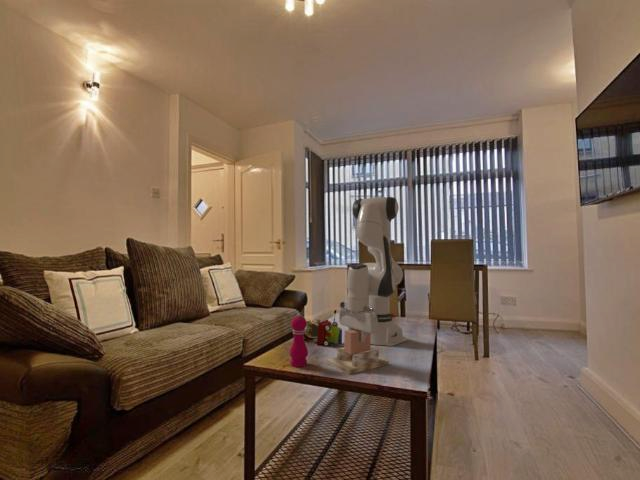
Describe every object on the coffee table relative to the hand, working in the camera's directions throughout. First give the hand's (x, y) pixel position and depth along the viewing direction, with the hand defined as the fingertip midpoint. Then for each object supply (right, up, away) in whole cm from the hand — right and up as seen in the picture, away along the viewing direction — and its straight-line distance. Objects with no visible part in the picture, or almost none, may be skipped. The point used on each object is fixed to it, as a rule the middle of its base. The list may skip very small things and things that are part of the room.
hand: (357, 340), depth 129 cm
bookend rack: (0, -9, 0) cm, 9 cm away
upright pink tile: (0, -4, 0) cm, 4 cm away
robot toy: (-13, -11, +29) cm, 34 cm away
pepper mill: (-23, -9, -1) cm, 25 cm away
